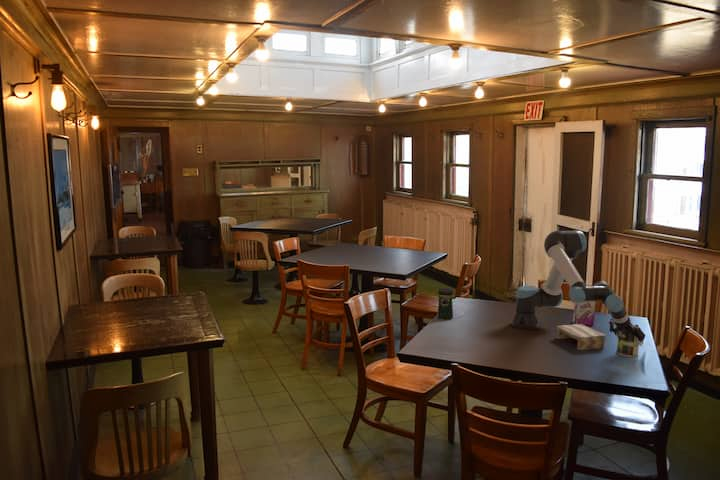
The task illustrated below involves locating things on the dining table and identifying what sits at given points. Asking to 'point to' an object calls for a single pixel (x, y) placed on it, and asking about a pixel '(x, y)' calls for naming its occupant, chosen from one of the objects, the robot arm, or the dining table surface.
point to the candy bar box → (584, 312)
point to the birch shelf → (582, 336)
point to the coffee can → (627, 344)
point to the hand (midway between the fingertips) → (630, 341)
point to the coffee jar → (445, 303)
